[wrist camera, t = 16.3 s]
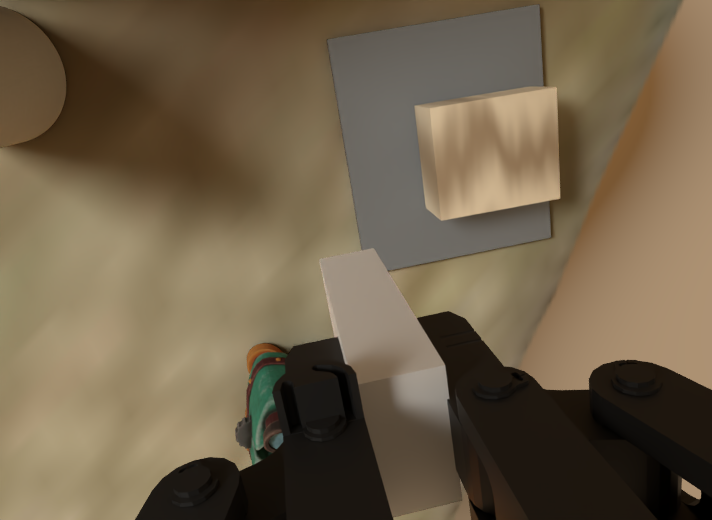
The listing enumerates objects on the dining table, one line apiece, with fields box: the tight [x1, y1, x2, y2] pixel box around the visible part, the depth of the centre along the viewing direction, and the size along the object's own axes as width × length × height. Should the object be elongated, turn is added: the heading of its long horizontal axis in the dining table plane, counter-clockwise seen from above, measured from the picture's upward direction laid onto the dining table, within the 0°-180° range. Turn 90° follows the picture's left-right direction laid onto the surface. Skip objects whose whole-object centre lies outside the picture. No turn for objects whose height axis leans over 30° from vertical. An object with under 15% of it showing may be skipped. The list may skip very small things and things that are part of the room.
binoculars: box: [235, 343, 288, 465], centre depth 38 cm, size 9×11×10 cm
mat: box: [327, 4, 551, 271], centre depth 39 cm, size 16×14×1 cm
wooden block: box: [414, 86, 560, 221], centre depth 37 cm, size 7×4×8 cm
